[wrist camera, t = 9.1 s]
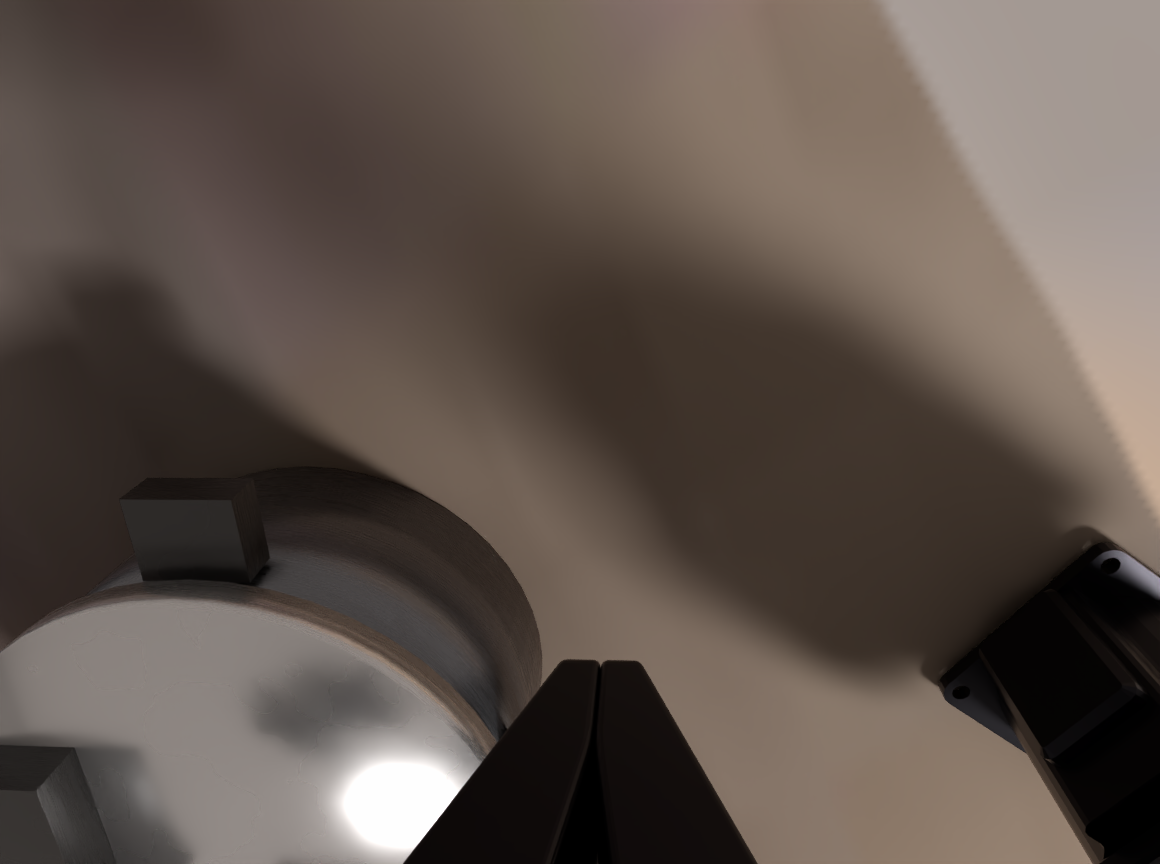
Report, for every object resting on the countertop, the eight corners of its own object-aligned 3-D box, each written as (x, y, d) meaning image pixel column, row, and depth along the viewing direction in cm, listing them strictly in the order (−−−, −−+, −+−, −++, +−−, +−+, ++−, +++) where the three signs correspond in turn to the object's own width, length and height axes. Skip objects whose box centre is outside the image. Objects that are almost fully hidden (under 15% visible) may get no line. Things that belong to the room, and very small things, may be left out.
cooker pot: (563, 397, 21) (537, 502, 15) (581, 851, 28) (567, 1038, 22) (71, 399, 22) (-119, 498, 16) (203, 836, 29) (99, 1011, 23)
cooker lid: (506, 584, 16) (487, 653, 14) (539, 1004, 21) (528, 1099, 19) (-109, 574, 17) (-210, 638, 15) (68, 977, 22) (11, 1065, 20)
